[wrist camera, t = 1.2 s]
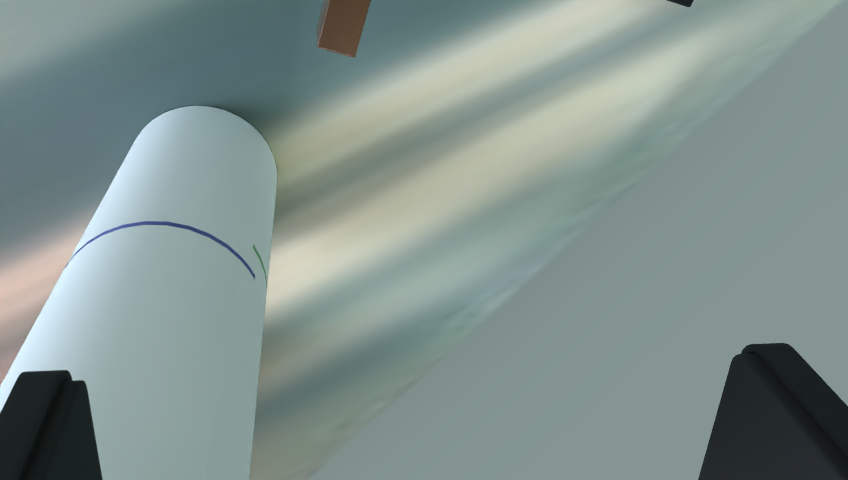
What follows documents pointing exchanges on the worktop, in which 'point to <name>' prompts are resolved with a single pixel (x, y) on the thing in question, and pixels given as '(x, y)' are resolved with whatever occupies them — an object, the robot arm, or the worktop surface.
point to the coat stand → (683, 2)
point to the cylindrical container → (169, 301)
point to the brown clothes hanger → (341, 25)
